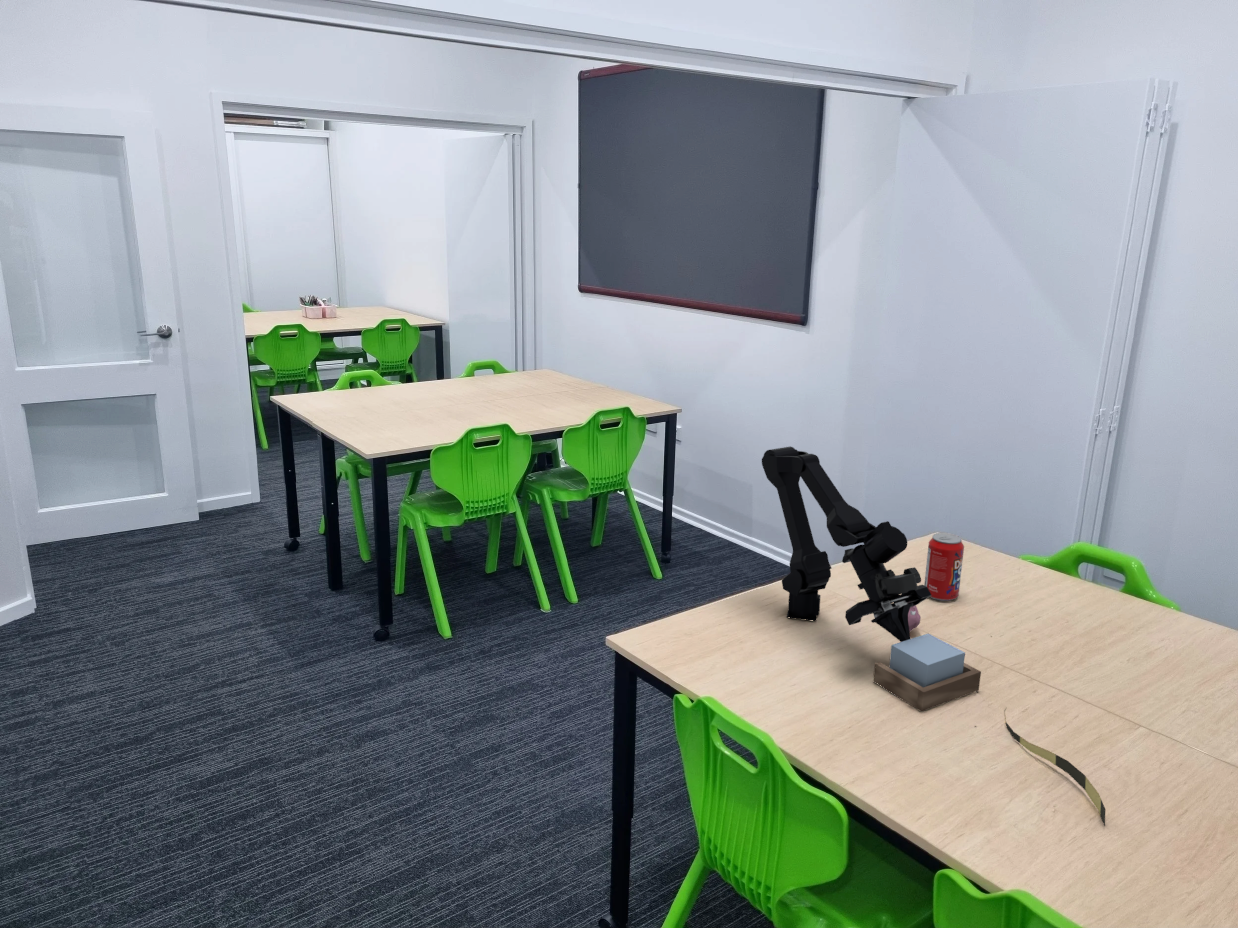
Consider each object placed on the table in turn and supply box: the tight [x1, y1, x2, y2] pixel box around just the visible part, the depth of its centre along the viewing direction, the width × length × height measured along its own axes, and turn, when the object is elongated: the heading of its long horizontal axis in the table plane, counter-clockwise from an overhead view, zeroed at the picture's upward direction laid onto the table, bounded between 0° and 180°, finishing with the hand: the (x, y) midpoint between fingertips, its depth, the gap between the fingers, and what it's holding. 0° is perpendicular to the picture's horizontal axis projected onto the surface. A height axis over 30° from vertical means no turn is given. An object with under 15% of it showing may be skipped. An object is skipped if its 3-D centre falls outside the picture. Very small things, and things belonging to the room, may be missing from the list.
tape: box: [1004, 708, 1106, 827], centre depth 150 cm, size 6×38×4 cm, turn 177°
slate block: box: [888, 633, 966, 688], centre depth 171 cm, size 9×10×8 cm
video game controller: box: [908, 605, 922, 632], centre depth 195 cm, size 10×5×7 cm, turn 179°
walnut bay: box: [872, 661, 982, 712], centre depth 171 cm, size 12×15×4 cm
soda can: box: [923, 532, 965, 602], centre depth 209 cm, size 8×8×15 cm
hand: (908, 644), depth 174 cm, fingers closed
